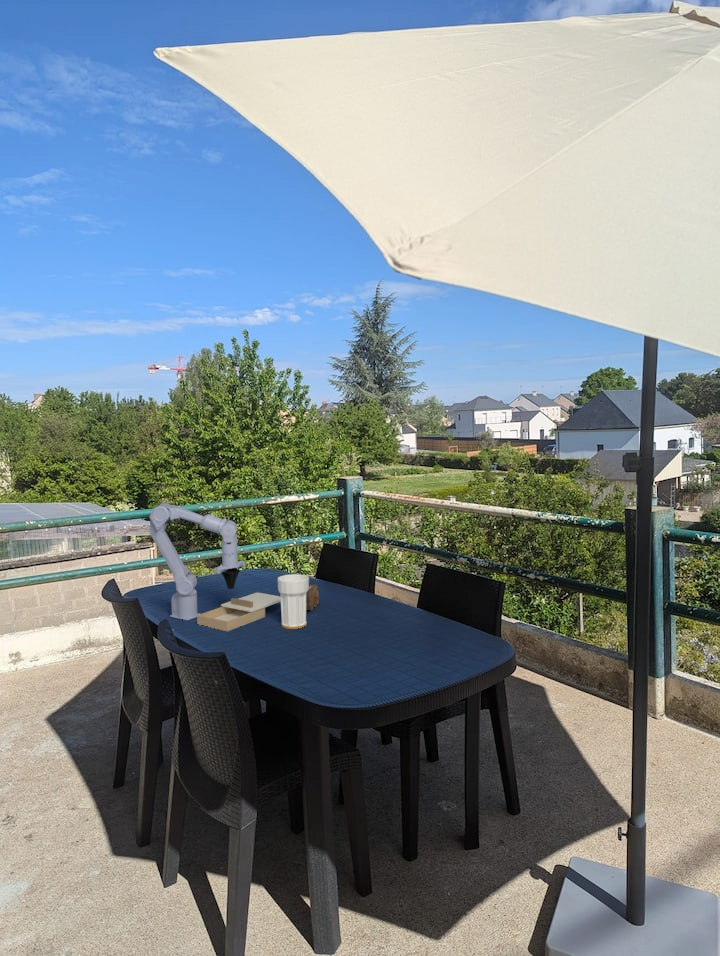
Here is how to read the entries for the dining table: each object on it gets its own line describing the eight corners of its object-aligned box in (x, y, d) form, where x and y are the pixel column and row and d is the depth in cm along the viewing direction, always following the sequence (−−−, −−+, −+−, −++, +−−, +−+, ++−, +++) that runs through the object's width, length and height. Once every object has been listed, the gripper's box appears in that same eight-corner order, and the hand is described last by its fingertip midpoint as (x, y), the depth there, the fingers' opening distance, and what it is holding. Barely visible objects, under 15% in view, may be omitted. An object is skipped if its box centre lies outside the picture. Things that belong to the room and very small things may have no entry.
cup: (271, 625, 237) (270, 578, 236) (295, 618, 246) (294, 572, 244) (292, 632, 230) (291, 583, 228) (316, 624, 238) (315, 577, 236)
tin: (310, 613, 252) (309, 591, 251) (302, 613, 253) (301, 591, 252) (320, 602, 267) (319, 582, 266) (312, 602, 267) (312, 581, 266)
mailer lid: (221, 606, 249) (220, 599, 249) (257, 593, 266) (257, 587, 266) (251, 612, 241) (251, 605, 241) (287, 599, 258) (287, 592, 258)
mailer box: (197, 624, 239) (197, 615, 239) (235, 610, 256) (235, 602, 256) (227, 631, 231) (227, 621, 231) (265, 616, 248) (264, 607, 247)
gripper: (223, 557, 240) (224, 594, 241) (250, 550, 252) (251, 585, 253) (209, 555, 244) (211, 591, 245) (237, 549, 256) (238, 583, 257)
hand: (230, 588), depth 249 cm, fingers closed
